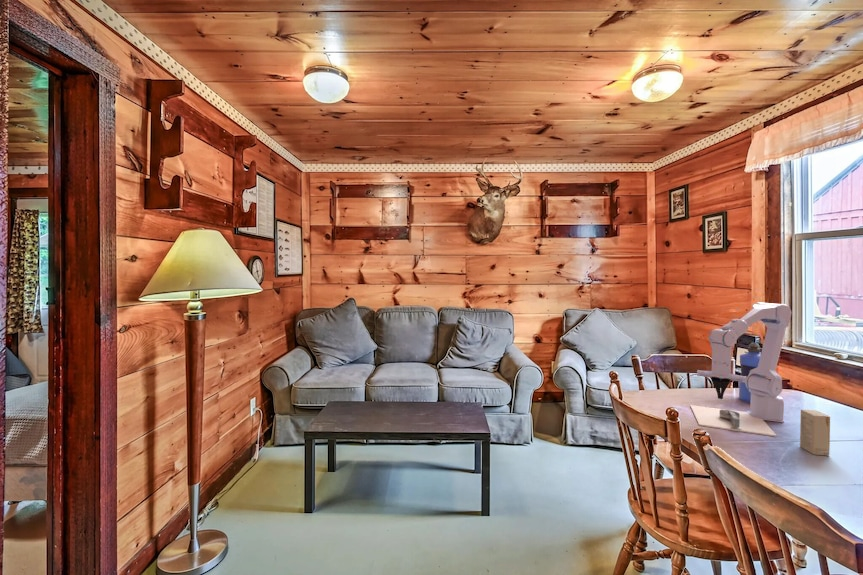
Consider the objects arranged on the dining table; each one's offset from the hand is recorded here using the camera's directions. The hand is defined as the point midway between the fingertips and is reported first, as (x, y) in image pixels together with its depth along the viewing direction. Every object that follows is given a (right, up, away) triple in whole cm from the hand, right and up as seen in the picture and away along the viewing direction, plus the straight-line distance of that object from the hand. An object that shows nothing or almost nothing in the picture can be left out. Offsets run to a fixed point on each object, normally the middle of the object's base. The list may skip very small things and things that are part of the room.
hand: (720, 398), depth 146 cm
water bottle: (+32, -8, +25) cm, 41 cm away
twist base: (+6, -9, +3) cm, 11 cm away
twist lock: (+4, -8, 0) cm, 9 cm away
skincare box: (+13, -11, -22) cm, 28 cm away
